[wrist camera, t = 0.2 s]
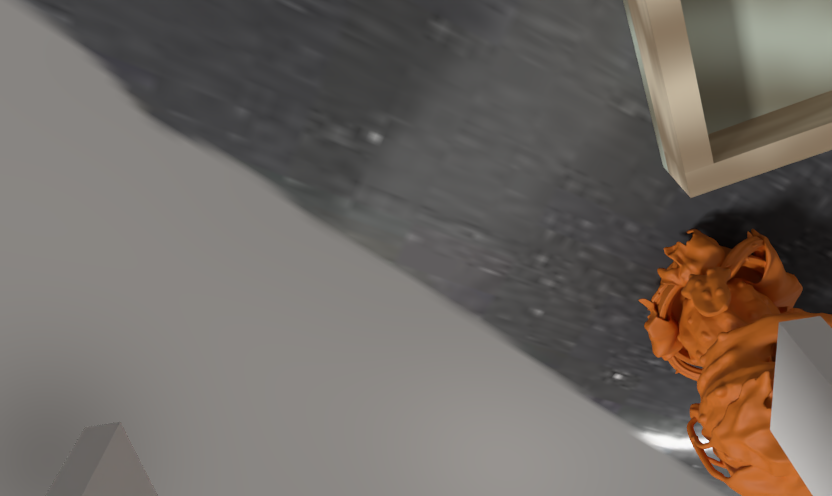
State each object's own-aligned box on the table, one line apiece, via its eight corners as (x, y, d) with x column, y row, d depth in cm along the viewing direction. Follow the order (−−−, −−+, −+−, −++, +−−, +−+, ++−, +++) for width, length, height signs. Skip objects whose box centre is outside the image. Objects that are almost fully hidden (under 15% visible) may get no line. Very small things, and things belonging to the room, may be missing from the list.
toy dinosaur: (818, 302, 46) (1037, 530, 30) (665, 376, 48) (790, 620, 32) (757, 171, 41) (976, 357, 25) (593, 261, 44) (697, 478, 28)
